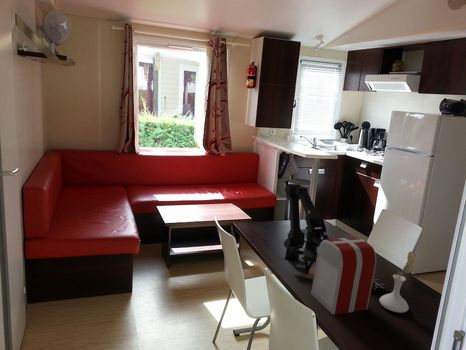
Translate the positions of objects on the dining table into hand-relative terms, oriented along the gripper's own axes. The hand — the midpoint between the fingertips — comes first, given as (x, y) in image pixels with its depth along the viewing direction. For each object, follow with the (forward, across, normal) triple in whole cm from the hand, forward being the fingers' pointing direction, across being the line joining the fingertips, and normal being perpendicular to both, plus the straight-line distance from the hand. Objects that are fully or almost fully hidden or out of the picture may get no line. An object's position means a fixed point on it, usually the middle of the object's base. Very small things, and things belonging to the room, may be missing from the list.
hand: (307, 271), depth 177 cm
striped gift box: (+1, +15, -19) cm, 24 cm away
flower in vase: (+1, +38, -13) cm, 40 cm away
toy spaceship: (+2, -1, +51) cm, 51 cm away
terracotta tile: (+2, +7, 0) cm, 7 cm away
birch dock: (+1, +6, 0) cm, 6 cm away
